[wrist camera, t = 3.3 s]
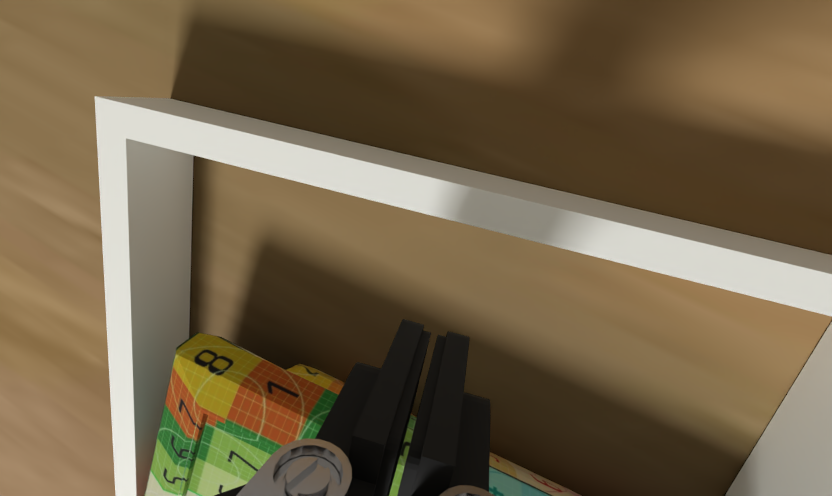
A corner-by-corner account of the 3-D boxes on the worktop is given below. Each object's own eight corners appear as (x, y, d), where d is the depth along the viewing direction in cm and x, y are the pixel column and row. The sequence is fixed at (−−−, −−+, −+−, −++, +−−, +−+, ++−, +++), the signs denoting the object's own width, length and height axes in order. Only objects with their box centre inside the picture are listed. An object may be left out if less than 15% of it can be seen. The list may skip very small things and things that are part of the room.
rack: (904, 272, 13) (1019, 319, 10) (670, 631, 18) (700, 725, 16) (169, 98, 15) (94, 96, 13) (167, 456, 21) (116, 509, 18)
